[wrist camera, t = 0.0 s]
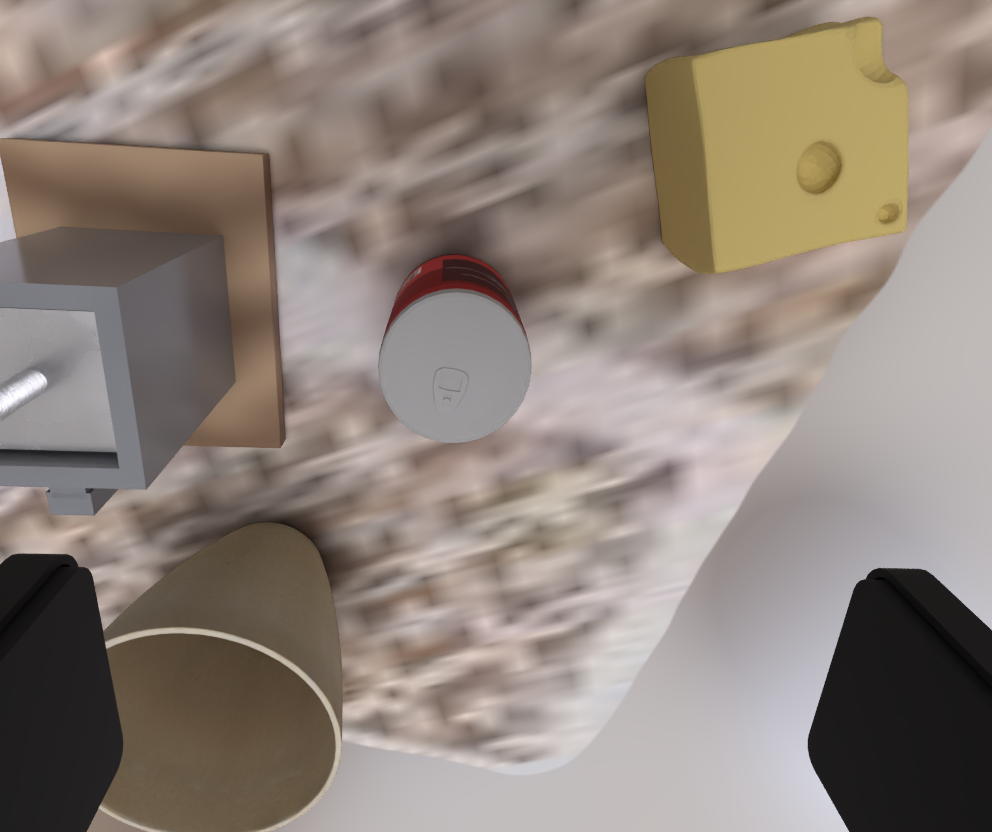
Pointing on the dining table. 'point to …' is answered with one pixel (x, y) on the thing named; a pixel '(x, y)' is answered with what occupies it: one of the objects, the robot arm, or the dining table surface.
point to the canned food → (454, 351)
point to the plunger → (52, 382)
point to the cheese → (779, 147)
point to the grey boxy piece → (127, 348)
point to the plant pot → (228, 688)
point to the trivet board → (177, 209)
